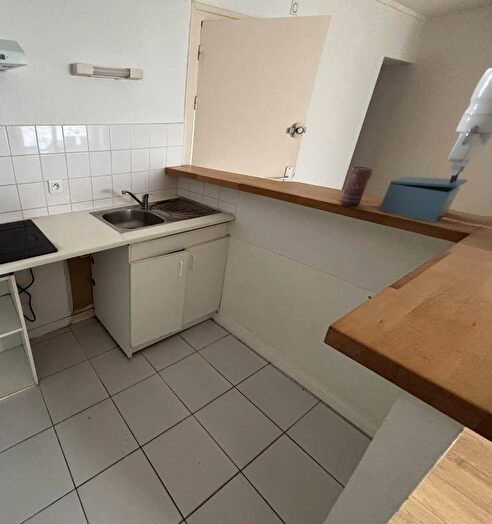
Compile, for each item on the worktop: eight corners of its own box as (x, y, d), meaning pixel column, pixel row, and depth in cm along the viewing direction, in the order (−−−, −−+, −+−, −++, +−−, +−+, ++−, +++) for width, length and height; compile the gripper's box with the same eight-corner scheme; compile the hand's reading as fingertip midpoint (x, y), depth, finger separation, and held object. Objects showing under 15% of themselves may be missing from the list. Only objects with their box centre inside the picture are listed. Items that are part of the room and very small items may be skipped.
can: (359, 208, 106) (374, 170, 99) (339, 205, 109) (352, 168, 102) (358, 204, 110) (372, 167, 103) (339, 201, 113) (352, 165, 106)
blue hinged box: (445, 215, 99) (460, 187, 94) (434, 222, 92) (450, 193, 88) (391, 204, 110) (402, 178, 105) (378, 210, 104) (389, 183, 99)
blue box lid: (466, 182, 93) (472, 165, 90) (456, 187, 86) (463, 170, 84) (402, 178, 105) (407, 164, 103) (390, 183, 99) (394, 168, 97)
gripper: (487, 127, 76) (460, 179, 82) (501, 124, 86) (476, 170, 93) (455, 127, 80) (432, 176, 87) (472, 123, 91) (450, 168, 97)
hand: (455, 173), depth 90 cm, fingers closed on blue box lid, 5 cm apart
